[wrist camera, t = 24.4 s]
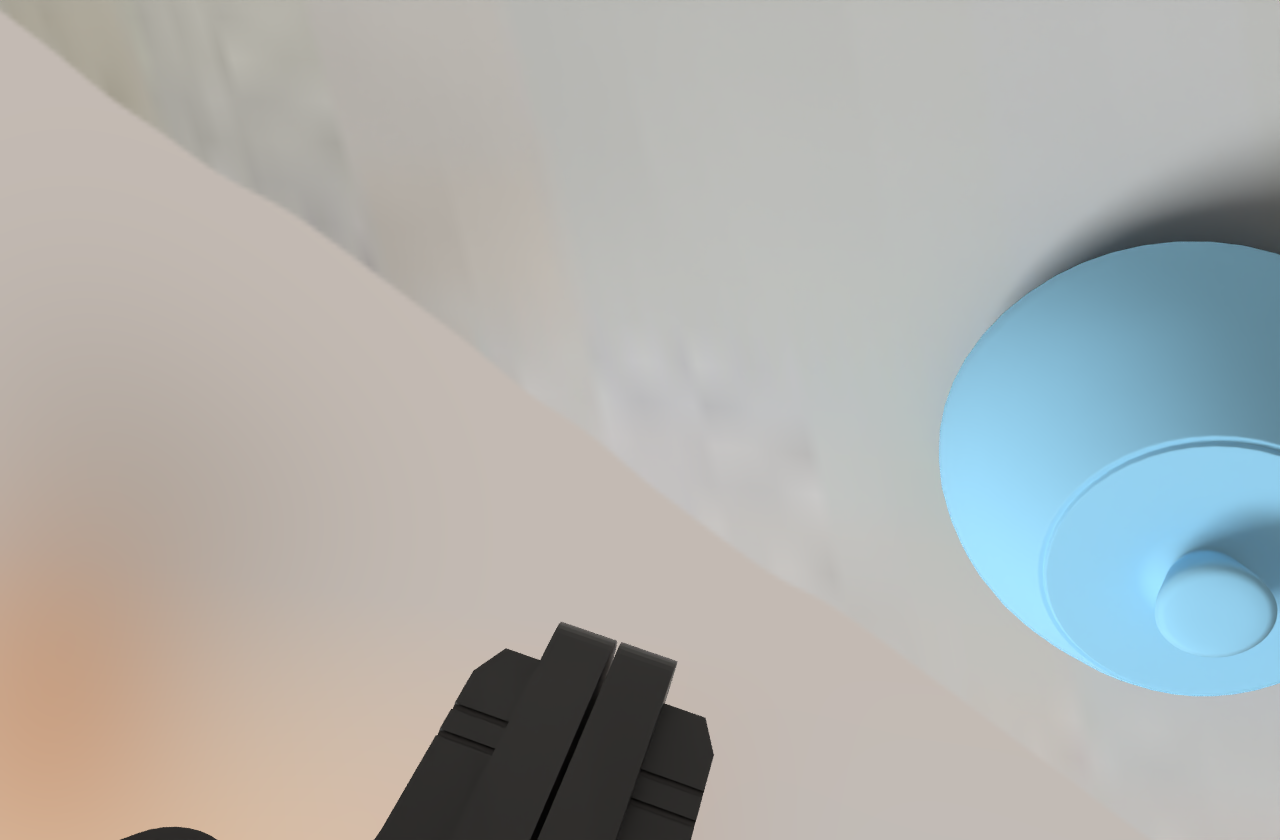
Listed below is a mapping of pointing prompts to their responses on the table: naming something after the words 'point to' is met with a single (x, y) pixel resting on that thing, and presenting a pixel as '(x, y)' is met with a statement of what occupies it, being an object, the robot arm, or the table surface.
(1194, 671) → the sugar bowl
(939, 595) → the table surface
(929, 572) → the table surface
